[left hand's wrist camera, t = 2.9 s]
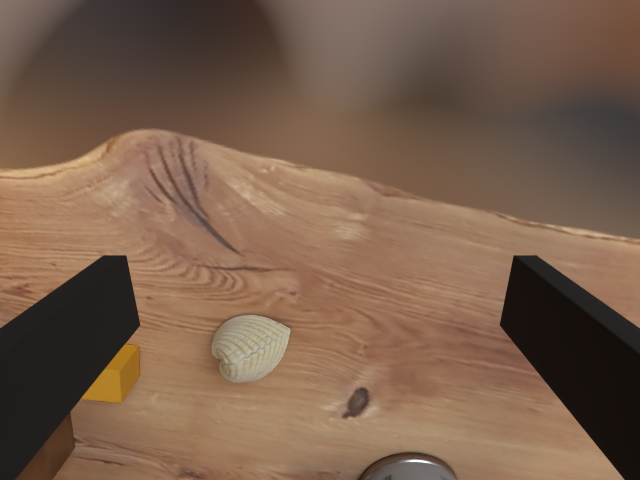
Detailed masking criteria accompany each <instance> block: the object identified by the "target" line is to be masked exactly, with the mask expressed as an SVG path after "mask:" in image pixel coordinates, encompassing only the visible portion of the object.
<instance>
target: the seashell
mask: <svg viewBox="0 0 640 480" xmlns="http://www.w3.org/2000/svg"><path fill="white" fill-rule="evenodd" d="M290 331H291V330H290V328H288V327H286V326H284V325H282V324H281V323H278V322H276V321H273V320H272V319H269V318H266V317H262V316H257V315H243V316H237V317H234V318H232V319H230V320H228V321H226V322H225V323H223V324H222V325H221V326H220V327H219V328H218V330H217V331H216V333H215V334H214V337H213V340H212V345H211V351H212V354H213V356H215V357H216V358H217V359H220V363H219V370H220V372H221V374H222V376H223V377H224V378H225V379H226V380H228V381H231V382H235V383H237V382H239V383H246V382H252V381H255V380H258V379H261V378H262V377H264V376H266V375H267V374H268V373H270V372H271V371H272V370H273V369H274V368H275V367H276V365H277V364H278V363H279V361H280V360H281V358H282V356H283V354H284V352H285V350H286V347H287V344H288V340H289V335H290Z"/></svg>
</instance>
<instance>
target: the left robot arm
mask: <svg viewBox="0 0 640 480" xmlns="http://www.w3.org/2000/svg"><path fill="white" fill-rule="evenodd" d="M139 326H140V321H139V316H138V311H137V307H136V302H135V297H134V292H133V287H132V282H131V277H130V272H129V267H128V262H127V257H126V256H102V257H101V258H99V259H98V260H97V261H95V262H94V263H92V264H91V265H89V266H88V267H87V268H85V269H84V270H82V271H81V272H80V273H78V274H77V275H75V276H74V277H72V278H71V279H70V280H68V281H67V282H65V283H64V284H63V285H61V286H60V287H58V288H57V289H55V290H54V291H53V292H51V293H50V294H48V295H47V296H46V297H44V298H43V299H41V300H40V301H38V302H37V303H36V304H34V305H33V306H31V307H30V308H29V309H27V310H26V311H24V312H23V313H21V314H20V315H19V316H17V317H16V318H14V319H13V320H12V321H10V322H9V323H7V324H6V325H4V326H3V327H2V328H0V480H15V479H16V478H17V477H18V476H19V474H20V473H21V472H22V471H23V469H24V468H25V467H26V466H27V465H28V463H29V462H30V461H31V460H32V458H33V457H34V456H35V455H36V453H37V452H38V451H39V450H40V448H41V447H42V446H43V445H44V443H45V442H46V441H47V440H48V439H49V437H50V436H51V435H52V434H53V432H54V431H55V430H56V429H57V427H58V426H59V425H60V424H61V422H62V421H63V420H64V419H65V418H66V416H67V415H68V414H69V413H70V411H71V410H72V409H73V408H74V406H75V405H76V404H77V403H78V401H79V400H80V399H81V398H82V397H83V395H84V394H85V393H86V392H87V390H88V389H89V388H90V387H91V385H92V384H93V383H94V382H95V380H96V379H97V378H98V377H99V376H100V374H101V373H102V372H103V371H104V369H105V368H106V367H107V366H108V364H109V363H110V362H111V361H112V359H113V358H114V357H115V356H116V354H117V353H118V352H119V351H120V350H121V348H122V347H123V346H124V345H125V343H126V342H127V341H128V340H129V338H130V337H131V336H132V335H133V333H134V332H135V331H136V330H137V329H138V327H139ZM500 326H501V327H502V329H503V330H504V331H505V332H506V333H507V335H508V336H509V337H510V338H511V340H512V341H513V342H514V343H515V345H516V346H517V347H518V348H519V350H520V351H521V352H522V353H523V354H524V356H525V357H526V358H527V359H528V361H529V362H530V363H531V364H532V366H533V367H534V368H535V369H536V371H537V372H538V373H539V374H540V376H541V377H542V378H543V379H544V380H545V382H546V383H547V384H548V385H549V387H550V388H551V389H552V390H553V392H554V393H555V394H556V395H557V397H558V398H559V399H560V400H561V401H562V403H563V404H564V405H565V406H566V408H567V409H568V410H569V411H570V413H571V414H572V415H573V416H574V418H575V419H576V420H577V421H578V422H579V424H580V425H581V426H582V427H583V429H584V430H585V431H586V432H587V434H588V435H589V436H590V437H591V439H592V440H593V441H594V442H595V443H596V445H597V446H598V447H599V448H600V450H601V451H602V452H603V453H604V455H605V456H606V457H607V458H608V460H609V461H610V462H611V463H612V465H613V466H614V467H615V468H616V469H617V471H618V472H619V473H620V474H621V476H622V477H623V478H624V479H625V480H640V328H638V327H637V326H636V325H634V324H633V323H631V322H630V321H628V320H627V319H626V318H624V317H623V316H621V315H620V314H619V313H617V312H616V311H614V310H613V309H611V308H610V307H609V306H607V305H606V304H604V303H603V302H602V301H600V300H599V299H597V298H596V297H594V296H593V295H592V294H590V293H589V292H587V291H586V290H585V289H583V288H582V287H580V286H579V285H577V284H576V283H575V282H573V281H572V280H570V279H569V278H568V277H566V276H565V275H563V274H562V273H560V272H559V271H558V270H556V269H555V268H553V267H552V266H551V265H549V264H548V263H546V262H545V261H543V260H542V259H541V258H539V257H538V256H514V257H513V262H512V267H511V272H510V277H509V282H508V287H507V292H506V297H505V302H504V307H503V311H502V316H501V321H500ZM360 480H457V478H456V475H455V473H454V471H453V470H452V469H451V468H450V466H449V465H447V464H446V463H445V462H443V461H442V460H440V459H438V458H436V457H433V456H430V455H426V454H421V453H403V454H397V455H393V456H389V457H386V458H384V459H382V460H380V461H378V462H376V463H375V464H373V465H372V466H370V467H369V468H368V469H367V470H366V471H365V472H364V474H363V475H362V477H361V478H360Z"/></svg>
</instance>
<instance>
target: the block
mask: <svg viewBox="0 0 640 480" xmlns="http://www.w3.org/2000/svg"><path fill="white" fill-rule="evenodd" d="M139 376H140V368H139V346H138V345H130V344H125V345H124V346H123V347H122V348H121V350H120V351H119V352H118V353H117V354H116V356H115V357H114V358H113V359H112V361H111V362H110V363H109V364H108V366H107V367H106V368H105V369H104V371H103V372H102V373H101V374H100V376H99V377H98V378H97V379H96V380H95V382H94V383H93V384H92V385H91V387H90V388H89V389H88V390H87V392H86V393H85V394H84V395H83V397H82V398H81V399H87V400H96V401H105V402H114V403H122V402H123V400H124V399H125V397H126V396H127V394H128V393H129V391H130V389H131V388H132V386H133V385H134V383H135V382H136V380H137V379H138V377H139Z"/></svg>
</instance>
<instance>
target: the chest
mask: <svg viewBox="0 0 640 480" xmlns="http://www.w3.org/2000/svg"><path fill="white" fill-rule="evenodd" d="M74 448H75V445H74V438H73V431H72V423H71V416H70V413H69V414H68V415H67V416H66V418H65V419H64V420H63V421H62V422H61V424H60V425H59V426H58V427H57V429H56V430H55V431H54V432H53V434H52V435H51V436H50V437H49V439H48V440H47V441H46V442H45V443H44V445H43V446H42V447H41V448H40V450H39V451H38V452H37V453H36V455H35V456H34V457H33V458H32V460H31V461H30V462H29V463H28V465H27V466H26V467H25V468H24V469H23V471H22V472H21V473H20V474H19V476H18V477H17V478H16V479H15V480H52V479H53V477H54V476H55V475H56V473H57V472H58V470H59V469H60V468H61V466H62V465H63V463H64V462H65V461H66V459H67V458H68V456H69V455H70V454H71V452H72V451H73V449H74Z"/></svg>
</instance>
